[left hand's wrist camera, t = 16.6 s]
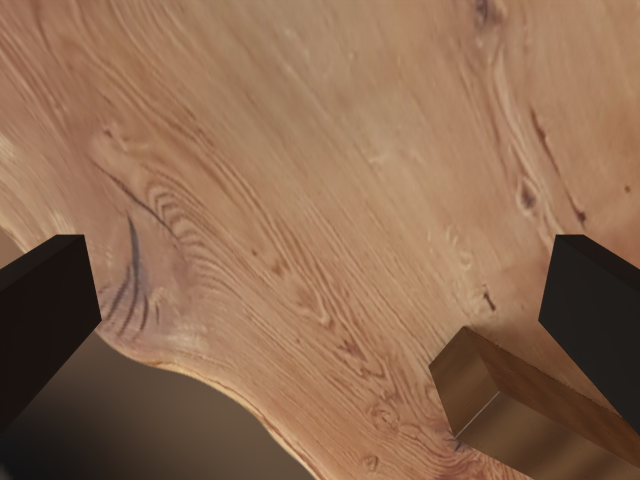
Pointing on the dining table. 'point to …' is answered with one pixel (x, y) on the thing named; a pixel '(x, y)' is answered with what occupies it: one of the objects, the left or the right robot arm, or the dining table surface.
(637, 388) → the left robot arm
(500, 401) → the box
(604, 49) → the dining table surface
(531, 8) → the dining table surface
